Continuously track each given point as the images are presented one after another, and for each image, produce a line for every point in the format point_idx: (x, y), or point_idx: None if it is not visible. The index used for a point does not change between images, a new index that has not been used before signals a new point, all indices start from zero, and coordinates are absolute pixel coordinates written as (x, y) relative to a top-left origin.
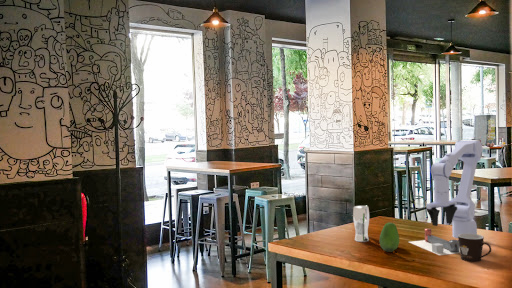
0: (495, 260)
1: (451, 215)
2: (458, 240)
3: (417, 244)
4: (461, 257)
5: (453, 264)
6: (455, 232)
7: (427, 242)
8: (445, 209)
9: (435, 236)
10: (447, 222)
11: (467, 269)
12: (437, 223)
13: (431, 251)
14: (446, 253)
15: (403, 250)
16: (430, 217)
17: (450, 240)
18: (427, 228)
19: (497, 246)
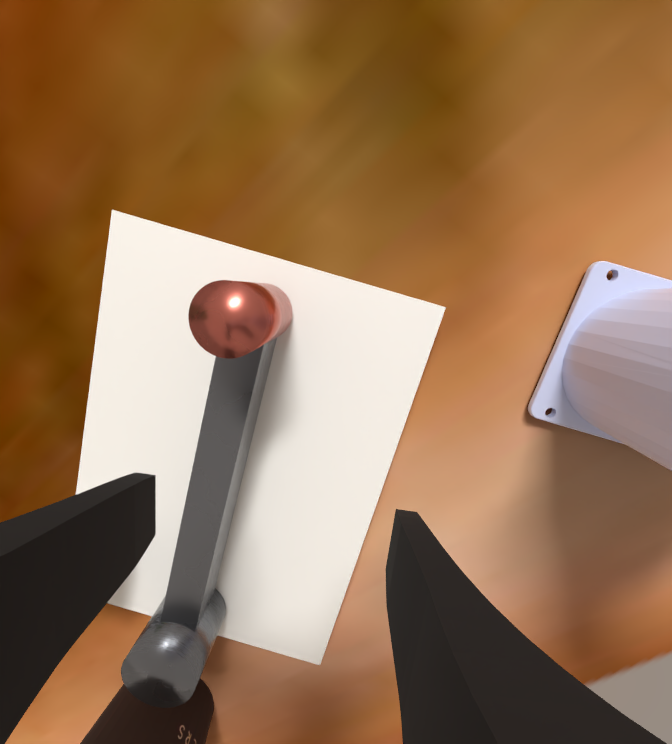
0: (316, 740)
1: (403, 723)
2: (194, 689)
3: (121, 326)
4: (102, 713)
5: (79, 661)
6: (605, 373)
7: None
8: (461, 716)
9: (242, 415)
10: (395, 528)
11: (79, 733)
12: (127, 567)
13: None
14: (126, 593)
15: (10, 307)
16: (8, 524)
17: (141, 655)
18: (244, 294)
19: (623, 617)
